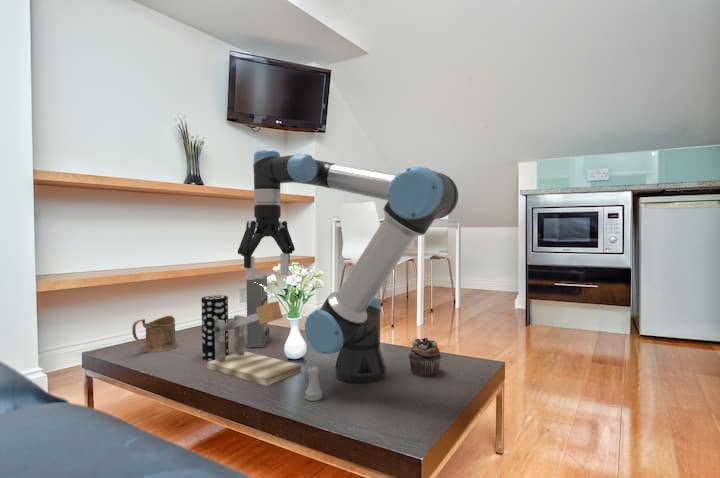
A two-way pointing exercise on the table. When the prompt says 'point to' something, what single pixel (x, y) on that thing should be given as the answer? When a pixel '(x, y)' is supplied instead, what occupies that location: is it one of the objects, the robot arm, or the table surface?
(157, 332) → the mug
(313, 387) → the rook chess piece
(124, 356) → the table surface
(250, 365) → the press base
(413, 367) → the cupcake
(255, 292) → the tall grey upright block
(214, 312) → the white-spotted black cylinder
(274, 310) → the lever
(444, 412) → the table surface
